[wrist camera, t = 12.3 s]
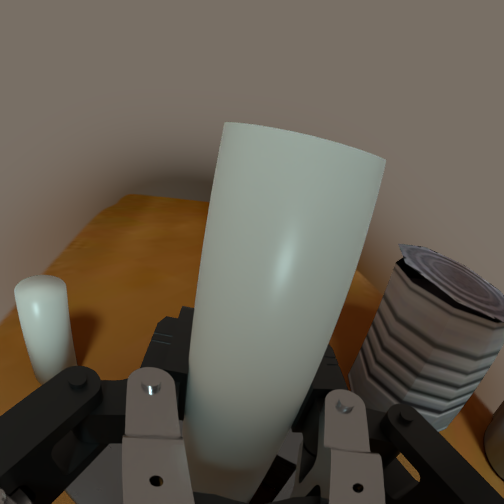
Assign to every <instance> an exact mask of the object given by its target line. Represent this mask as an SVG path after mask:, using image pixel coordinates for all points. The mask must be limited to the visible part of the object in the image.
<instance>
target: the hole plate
mask: <svg viewBox="0 0 504 504" xmlns="http://www.w3.org/2000/svg"><path fill="white" fill-rule="evenodd" d="M179 426H180V434H181V437H182V429H183V421H181V420H179ZM302 440H303V435H302V433H295V432H292V430H291V428H290V430H289V432H288V434H287V436H286V438H285V440H284V442H283V444H282V446H281V447H280V449H279V451H278V453H277V455H276V457H275V459H274V461H273V462H272V464H271V466H270V468H269V470H268V471H267V473H266V475H265V477H264V479H263V480H262V483H264V484H266V485H268V486H269V487H271V488H273V489H275V490H277V491H279V494H278V495H277V496H276V498H275V499H274V500H273V502H275V501H280V500H284V499H288V498H290V496H291V493H292V491H293V487H294V482H295V474H296V467H297V459H298V451H299V445H300V443H301V441H302ZM64 491H65V492H66V493H67V494H68V495H69V497H70V498H71V499H72V500H73V501H74V502H75V503H76V504H123V483H122V444H109V445H108V446H107V447H106V448H105V449H104V450H103V451H102V452H101V453H100V454H99V455H98V456H97V457H96V458H95V460H94V461H93V462H92V463H91V464H90V465H89V466H88V467H87V468H86V469H85V470H84V471H83V472H82V473H81V474H80V475H79V476H78V477H77V478H76V479H75V480H74V481H73V482H72V483H71V484H70V485H69V486H68V487H67V488H66V489H65V490H64Z"/></svg>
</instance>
